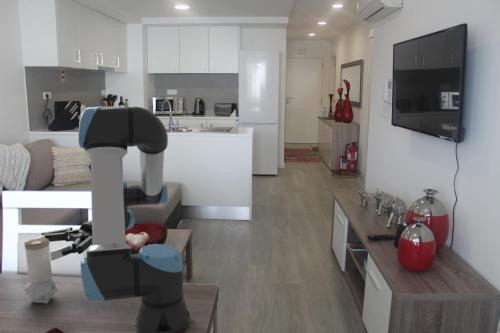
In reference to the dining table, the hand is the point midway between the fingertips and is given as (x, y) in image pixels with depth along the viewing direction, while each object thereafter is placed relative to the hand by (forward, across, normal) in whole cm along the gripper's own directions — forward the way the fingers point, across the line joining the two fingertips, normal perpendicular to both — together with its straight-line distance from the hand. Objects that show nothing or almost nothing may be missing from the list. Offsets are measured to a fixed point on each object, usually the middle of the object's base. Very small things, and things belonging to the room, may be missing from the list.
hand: (37, 250), depth 130 cm
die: (0, 0, -17) cm, 17 cm away
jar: (0, 0, -9) cm, 9 cm away
